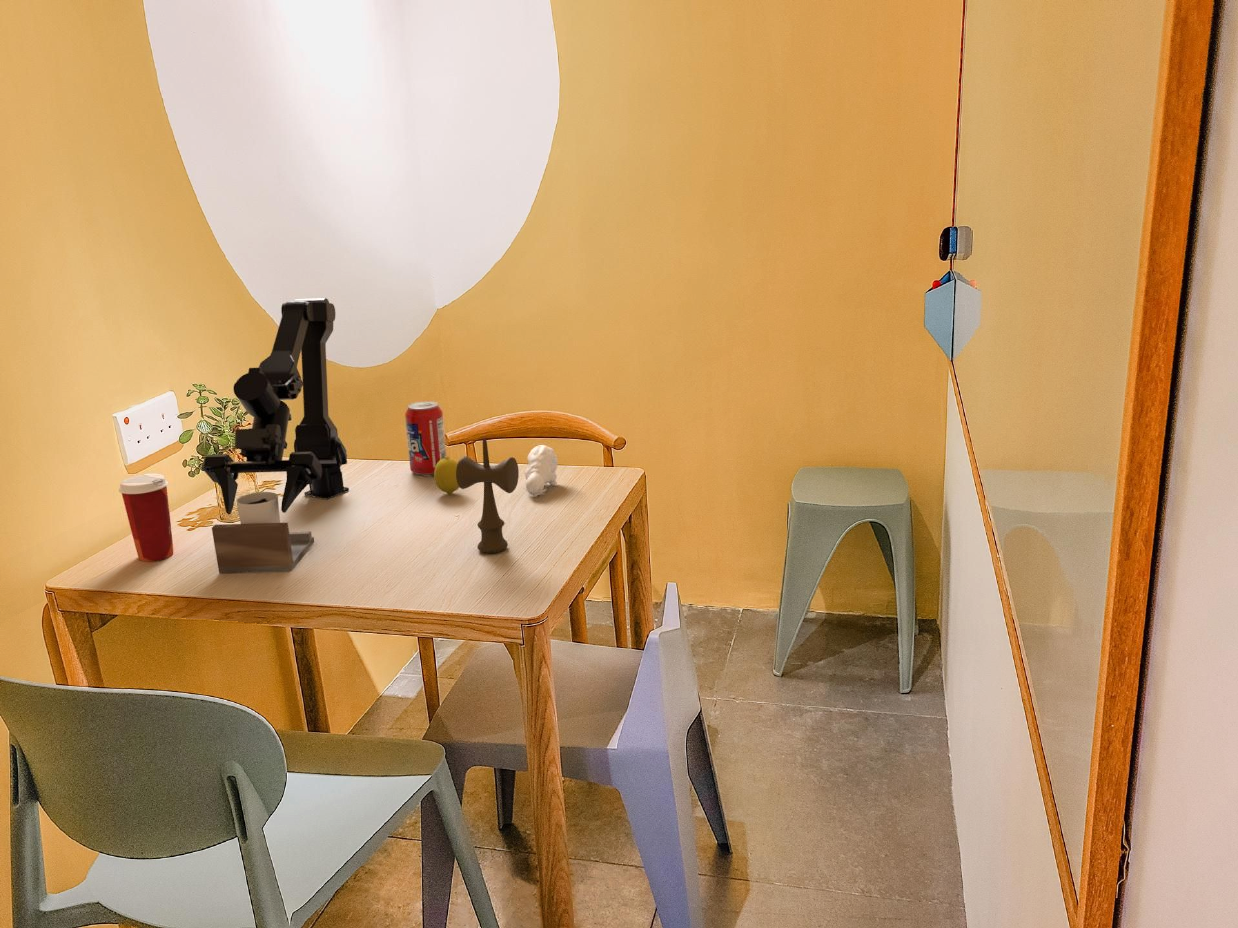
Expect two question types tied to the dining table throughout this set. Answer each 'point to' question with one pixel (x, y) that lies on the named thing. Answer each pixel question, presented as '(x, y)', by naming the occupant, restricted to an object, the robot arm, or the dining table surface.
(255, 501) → the white cup
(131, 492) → the paper cup
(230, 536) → the holder
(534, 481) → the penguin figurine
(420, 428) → the soda can
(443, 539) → the dining table surface
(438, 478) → the lemon
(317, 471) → the robot arm
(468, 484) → the kendama
